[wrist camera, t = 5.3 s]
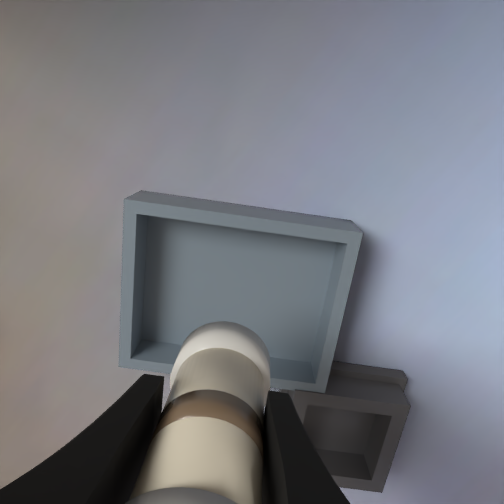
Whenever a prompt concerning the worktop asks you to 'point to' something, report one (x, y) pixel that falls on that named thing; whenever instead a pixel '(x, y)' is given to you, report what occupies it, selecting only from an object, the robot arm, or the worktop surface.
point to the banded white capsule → (210, 422)
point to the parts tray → (234, 282)
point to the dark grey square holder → (355, 422)
